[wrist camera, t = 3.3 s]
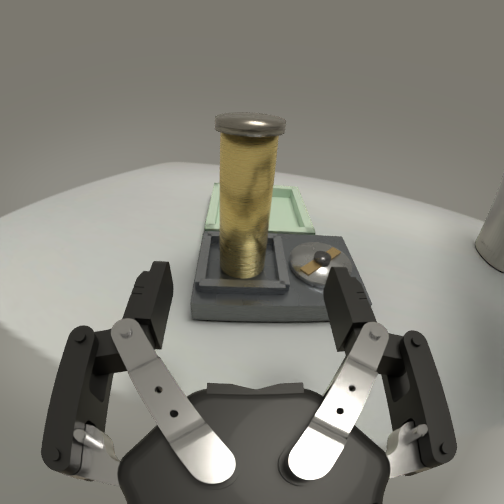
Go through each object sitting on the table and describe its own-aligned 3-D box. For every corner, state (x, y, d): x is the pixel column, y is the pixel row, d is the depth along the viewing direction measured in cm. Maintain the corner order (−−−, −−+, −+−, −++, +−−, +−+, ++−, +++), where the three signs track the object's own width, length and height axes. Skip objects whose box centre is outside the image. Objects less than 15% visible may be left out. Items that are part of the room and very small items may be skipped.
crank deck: (337, 250, 31) (344, 228, 29) (364, 318, 23) (376, 295, 21) (204, 246, 30) (203, 222, 28) (192, 319, 22) (189, 293, 20)
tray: (295, 199, 40) (297, 186, 39) (312, 247, 31) (315, 232, 30) (214, 195, 40) (214, 182, 39) (205, 243, 30) (204, 228, 29)
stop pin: (266, 248, 27) (281, 114, 19) (270, 282, 23) (291, 127, 15) (217, 246, 27) (218, 111, 19) (213, 280, 23) (211, 123, 15)
